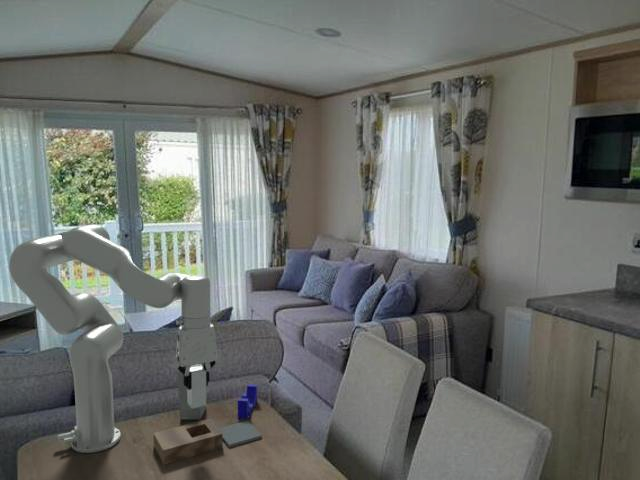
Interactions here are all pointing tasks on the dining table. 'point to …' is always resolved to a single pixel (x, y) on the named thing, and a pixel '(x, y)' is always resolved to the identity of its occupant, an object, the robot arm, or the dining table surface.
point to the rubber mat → (239, 433)
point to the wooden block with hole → (187, 441)
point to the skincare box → (185, 408)
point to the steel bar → (197, 387)
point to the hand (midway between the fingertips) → (196, 385)
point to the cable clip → (247, 401)
